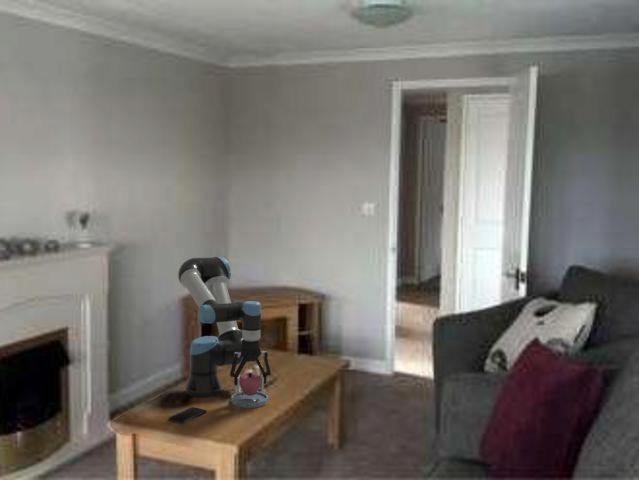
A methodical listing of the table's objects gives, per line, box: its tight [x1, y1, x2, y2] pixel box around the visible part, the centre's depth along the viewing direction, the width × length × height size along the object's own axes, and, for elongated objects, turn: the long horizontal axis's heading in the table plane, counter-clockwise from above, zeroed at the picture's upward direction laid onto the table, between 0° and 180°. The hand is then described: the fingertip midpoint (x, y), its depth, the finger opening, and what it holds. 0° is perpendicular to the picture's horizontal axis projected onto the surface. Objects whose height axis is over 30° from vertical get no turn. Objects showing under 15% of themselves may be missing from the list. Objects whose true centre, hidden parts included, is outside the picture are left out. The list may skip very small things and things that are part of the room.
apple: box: [239, 372, 262, 396], centre depth 280 cm, size 10×9×10 cm
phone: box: [167, 406, 208, 425], centre depth 262 cm, size 8×1×15 cm
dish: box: [230, 390, 270, 409], centre depth 281 cm, size 15×15×2 cm
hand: (250, 392), depth 280 cm, fingers closed on apple, 9 cm apart
